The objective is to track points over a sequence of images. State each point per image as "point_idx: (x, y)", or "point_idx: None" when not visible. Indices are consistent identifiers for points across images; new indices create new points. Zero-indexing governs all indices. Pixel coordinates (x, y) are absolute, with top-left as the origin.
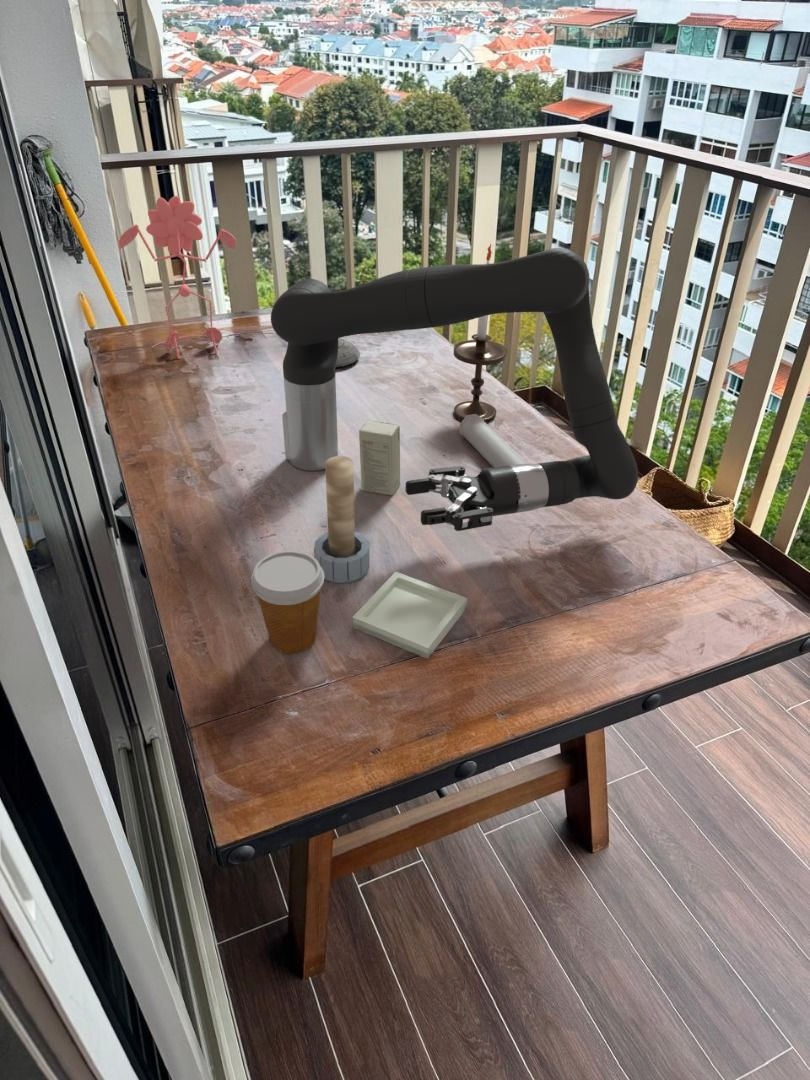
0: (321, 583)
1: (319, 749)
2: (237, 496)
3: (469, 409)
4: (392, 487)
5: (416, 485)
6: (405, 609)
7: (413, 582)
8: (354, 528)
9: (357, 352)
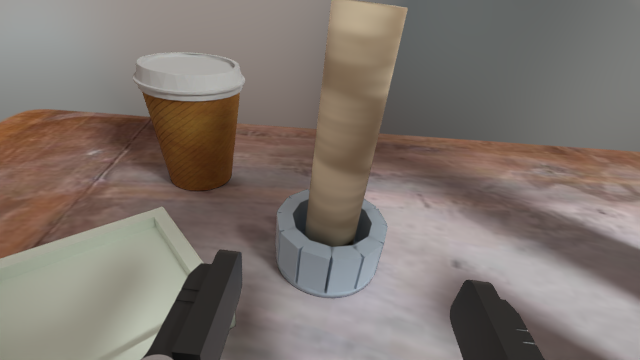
0: (145, 85)
1: (21, 154)
2: (521, 196)
3: None
4: None
5: (479, 326)
6: (118, 294)
7: None
8: (329, 195)
9: None
